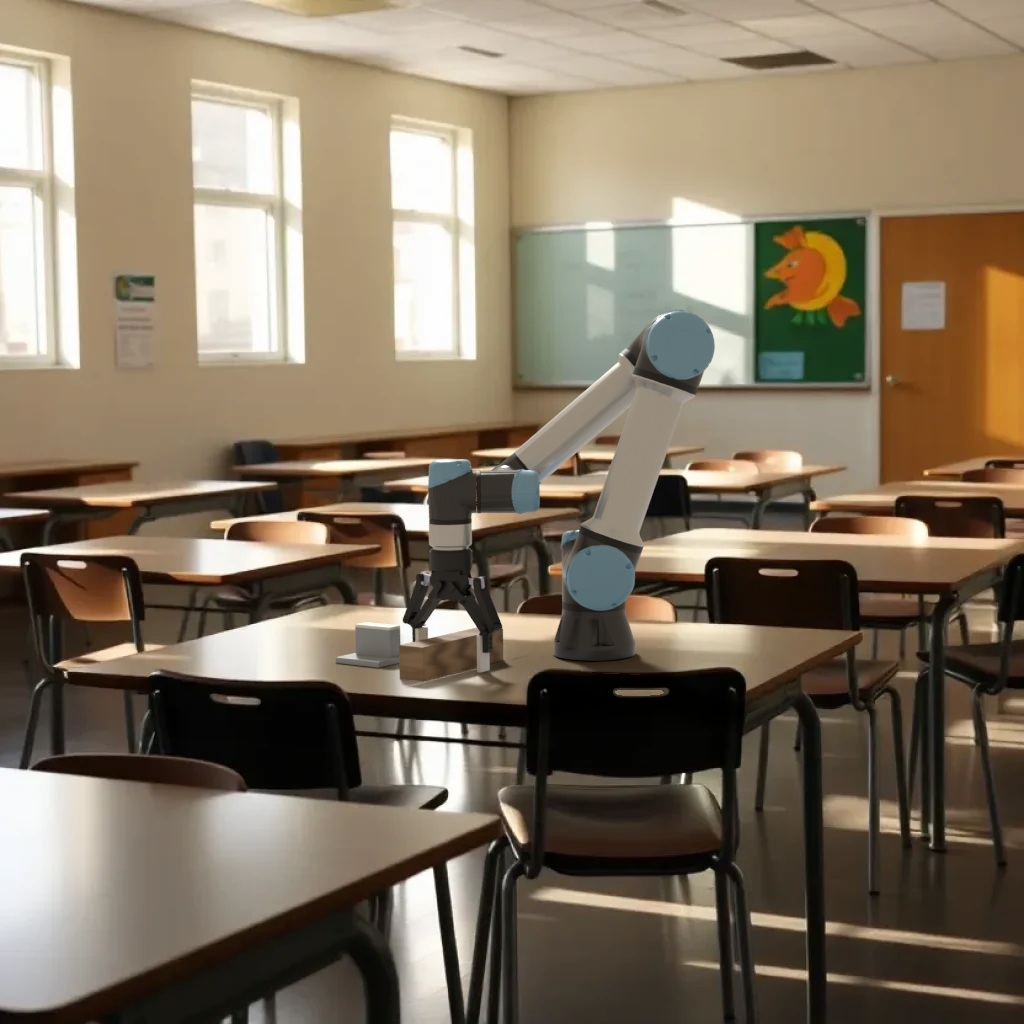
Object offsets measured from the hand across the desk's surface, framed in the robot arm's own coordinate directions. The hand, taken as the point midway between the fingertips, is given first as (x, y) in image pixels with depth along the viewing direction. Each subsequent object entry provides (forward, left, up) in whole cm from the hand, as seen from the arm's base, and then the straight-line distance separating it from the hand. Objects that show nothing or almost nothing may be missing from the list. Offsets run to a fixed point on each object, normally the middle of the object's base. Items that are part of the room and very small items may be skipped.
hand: (452, 667), depth 305 cm
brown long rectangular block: (0, 0, 0) cm, 0 cm away
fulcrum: (+17, 0, 0) cm, 17 cm away
